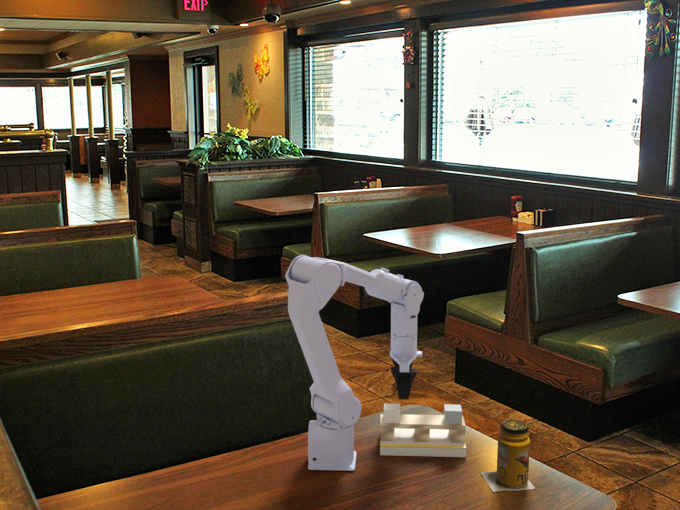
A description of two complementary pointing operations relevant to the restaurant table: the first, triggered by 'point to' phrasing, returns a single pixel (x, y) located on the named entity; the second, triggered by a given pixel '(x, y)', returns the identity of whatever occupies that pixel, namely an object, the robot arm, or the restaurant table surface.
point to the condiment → (511, 459)
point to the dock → (422, 444)
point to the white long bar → (422, 427)
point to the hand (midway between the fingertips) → (403, 391)
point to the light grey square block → (452, 414)
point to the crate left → (391, 412)
